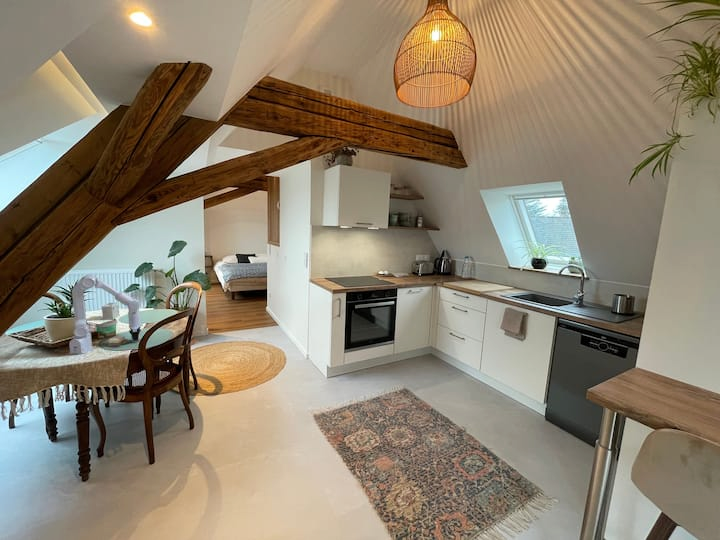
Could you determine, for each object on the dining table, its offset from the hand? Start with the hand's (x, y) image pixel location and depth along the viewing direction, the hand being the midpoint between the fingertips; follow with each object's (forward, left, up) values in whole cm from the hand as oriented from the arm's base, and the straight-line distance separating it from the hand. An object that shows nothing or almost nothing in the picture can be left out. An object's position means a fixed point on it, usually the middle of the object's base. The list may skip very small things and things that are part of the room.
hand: (135, 339), depth 187 cm
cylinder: (0, 0, -2) cm, 2 cm away
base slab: (-4, +8, -2) cm, 9 cm away
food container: (+8, +20, -2) cm, 22 cm away
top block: (-4, +8, 0) cm, 9 cm away
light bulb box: (+45, +44, -2) cm, 63 cm away
